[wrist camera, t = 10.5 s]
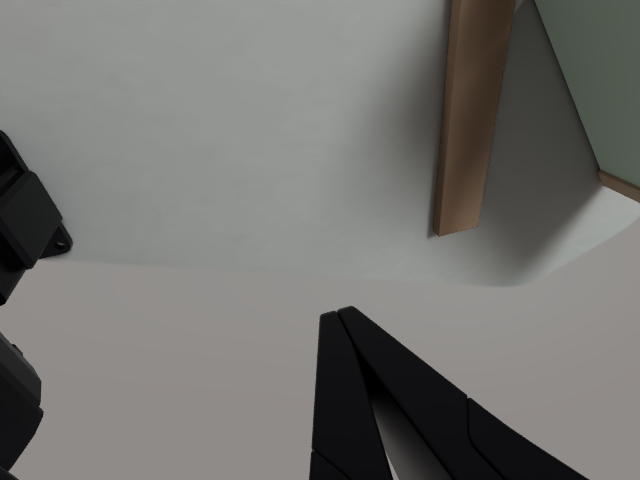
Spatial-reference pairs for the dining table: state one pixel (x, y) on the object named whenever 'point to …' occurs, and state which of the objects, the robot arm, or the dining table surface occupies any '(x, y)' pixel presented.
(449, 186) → the gate frame
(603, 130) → the board
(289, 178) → the dining table surface
